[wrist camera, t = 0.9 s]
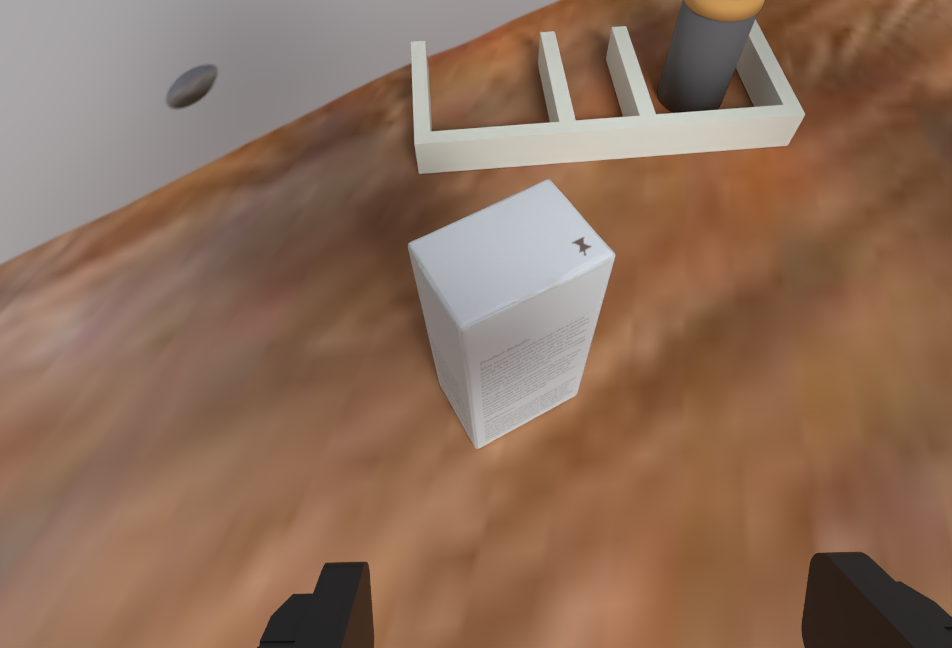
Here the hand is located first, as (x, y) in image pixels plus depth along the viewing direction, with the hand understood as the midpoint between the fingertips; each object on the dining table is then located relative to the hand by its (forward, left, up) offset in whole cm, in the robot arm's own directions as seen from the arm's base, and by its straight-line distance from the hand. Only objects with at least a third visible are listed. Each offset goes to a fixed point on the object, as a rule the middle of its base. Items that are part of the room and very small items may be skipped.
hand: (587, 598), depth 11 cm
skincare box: (0, -11, -16) cm, 20 cm away
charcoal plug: (-15, -32, -16) cm, 39 cm away
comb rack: (-8, -32, -16) cm, 37 cm away
